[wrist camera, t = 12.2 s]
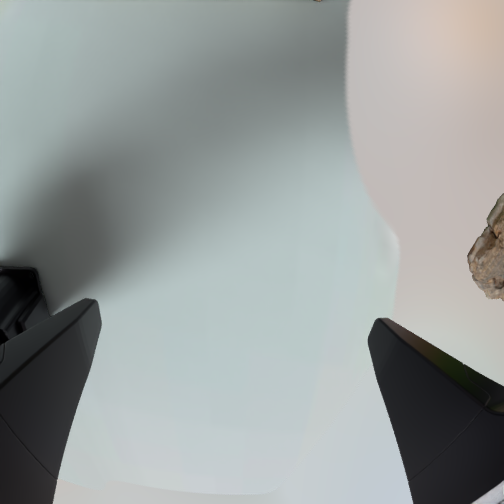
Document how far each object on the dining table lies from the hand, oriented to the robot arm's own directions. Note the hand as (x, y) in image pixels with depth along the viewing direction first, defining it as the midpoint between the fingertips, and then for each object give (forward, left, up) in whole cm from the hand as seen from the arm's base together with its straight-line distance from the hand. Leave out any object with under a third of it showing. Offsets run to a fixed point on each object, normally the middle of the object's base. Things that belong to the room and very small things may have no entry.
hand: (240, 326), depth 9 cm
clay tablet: (+39, -3, -13) cm, 41 cm away
